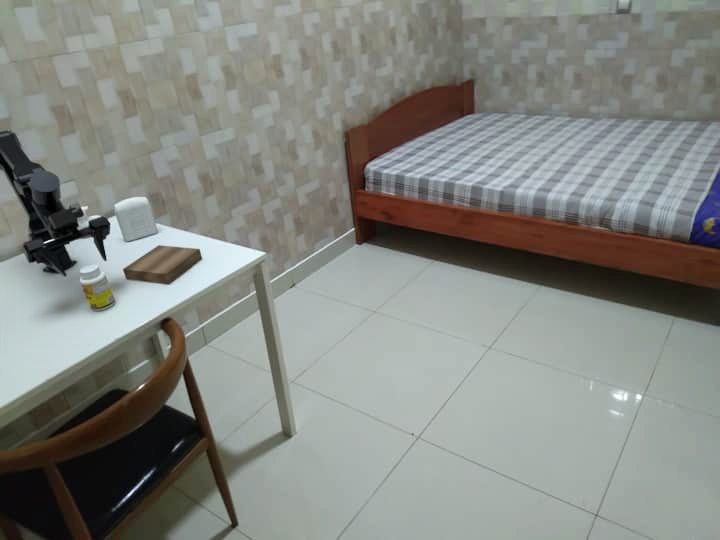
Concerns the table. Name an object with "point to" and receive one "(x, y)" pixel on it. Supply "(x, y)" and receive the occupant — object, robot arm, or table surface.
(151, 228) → the photo printer
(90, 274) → the supplement bottle
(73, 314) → the table surface
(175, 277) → the walnut stand
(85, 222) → the bust
